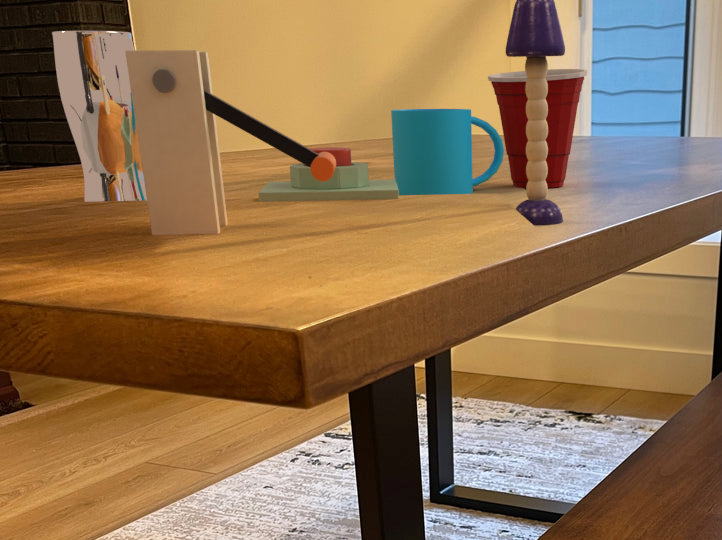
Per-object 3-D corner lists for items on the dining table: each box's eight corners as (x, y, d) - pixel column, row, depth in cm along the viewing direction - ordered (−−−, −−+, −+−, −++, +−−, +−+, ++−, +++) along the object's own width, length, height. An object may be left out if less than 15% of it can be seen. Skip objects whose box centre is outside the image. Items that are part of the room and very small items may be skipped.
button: (305, 171, 88) (304, 150, 88) (308, 167, 92) (306, 147, 91) (351, 170, 89) (350, 149, 88) (352, 167, 92) (350, 147, 92)
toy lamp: (564, 226, 81) (567, -5, 74) (507, 227, 81) (505, -5, 74) (561, 219, 85) (564, -1, 78) (506, 219, 85) (505, 0, 78)
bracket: (278, 238, 75) (260, 52, 70) (267, 258, 67) (245, 49, 62) (127, 242, 74) (98, 53, 69) (97, 262, 66) (61, 49, 61)
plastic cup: (469, 187, 111) (466, 69, 106) (526, 179, 119) (526, 69, 114) (549, 193, 105) (550, 68, 100) (604, 184, 113) (607, 68, 108)
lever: (328, 183, 73) (342, 153, 72) (325, 191, 68) (340, 158, 67) (152, 86, 69) (166, 53, 68) (135, 87, 64) (150, 51, 63)
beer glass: (165, 210, 93) (141, 31, 87) (86, 215, 90) (55, 29, 84) (149, 203, 98) (125, 34, 92) (74, 207, 95) (44, 33, 89)
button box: (260, 218, 87) (255, 170, 85) (271, 205, 96) (266, 161, 94) (399, 215, 88) (397, 168, 86) (396, 203, 97) (394, 159, 95)
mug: (408, 198, 100) (404, 111, 97) (386, 191, 107) (381, 109, 104) (518, 193, 105) (517, 109, 101) (490, 186, 111) (489, 107, 108)
